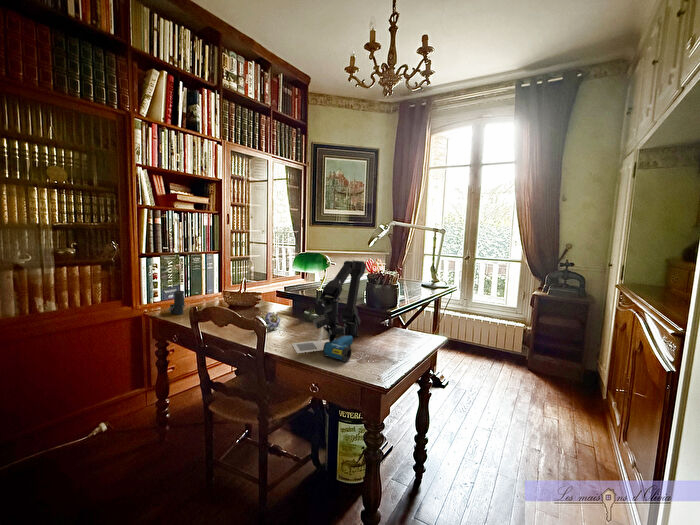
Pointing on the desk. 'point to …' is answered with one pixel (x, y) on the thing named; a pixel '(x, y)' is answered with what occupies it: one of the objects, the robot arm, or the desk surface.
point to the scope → (177, 303)
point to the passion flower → (272, 320)
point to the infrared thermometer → (339, 348)
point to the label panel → (309, 346)
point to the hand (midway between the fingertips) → (330, 343)
